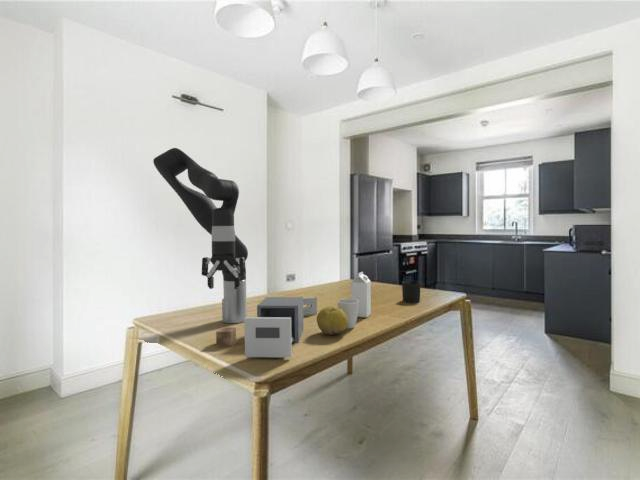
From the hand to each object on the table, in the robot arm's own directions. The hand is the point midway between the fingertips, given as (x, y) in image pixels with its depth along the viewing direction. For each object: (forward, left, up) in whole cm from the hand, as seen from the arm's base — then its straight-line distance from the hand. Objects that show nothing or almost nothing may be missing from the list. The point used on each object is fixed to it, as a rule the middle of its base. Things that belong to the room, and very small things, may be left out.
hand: (224, 288), depth 118 cm
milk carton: (+47, +40, -19) cm, 65 cm away
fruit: (+35, +12, -19) cm, 42 cm away
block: (0, 0, -19) cm, 19 cm away
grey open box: (+17, +10, -19) cm, 27 cm away
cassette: (+22, +40, -19) cm, 50 cm away
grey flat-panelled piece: (+17, -7, -18) cm, 26 cm away
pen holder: (+75, +72, -19) cm, 106 cm away
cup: (+41, +22, -19) cm, 51 cm away
